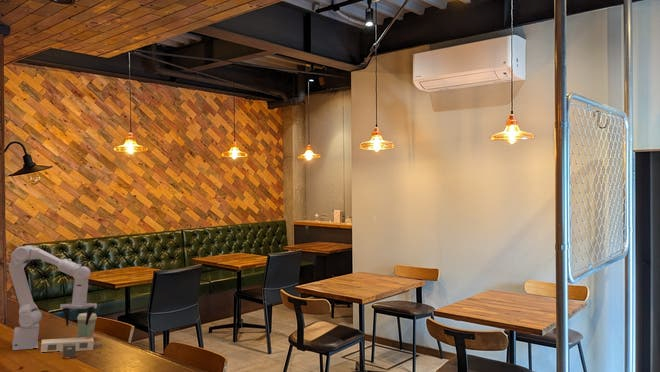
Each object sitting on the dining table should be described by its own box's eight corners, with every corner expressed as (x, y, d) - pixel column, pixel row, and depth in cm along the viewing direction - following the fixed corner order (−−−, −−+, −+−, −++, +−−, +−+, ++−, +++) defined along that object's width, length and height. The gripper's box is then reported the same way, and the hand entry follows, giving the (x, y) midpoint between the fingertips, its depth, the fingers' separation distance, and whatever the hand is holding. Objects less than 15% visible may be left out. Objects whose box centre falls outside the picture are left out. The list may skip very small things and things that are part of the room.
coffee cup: (86, 343, 227) (89, 316, 228) (70, 341, 228) (73, 314, 229) (98, 339, 235) (101, 313, 236) (83, 337, 237) (85, 311, 238)
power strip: (40, 353, 207) (41, 342, 207) (40, 349, 213) (41, 338, 213) (103, 349, 219) (104, 338, 219) (101, 345, 225) (102, 335, 225)
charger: (62, 358, 201) (63, 346, 202) (62, 355, 206) (63, 343, 206) (74, 358, 204) (75, 345, 204) (73, 354, 208) (75, 342, 209)
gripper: (61, 295, 213) (58, 327, 212) (98, 295, 220) (95, 326, 219) (61, 293, 219) (58, 324, 218) (97, 292, 226) (94, 322, 225)
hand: (76, 325), depth 219 cm, fingers open, 7 cm apart
